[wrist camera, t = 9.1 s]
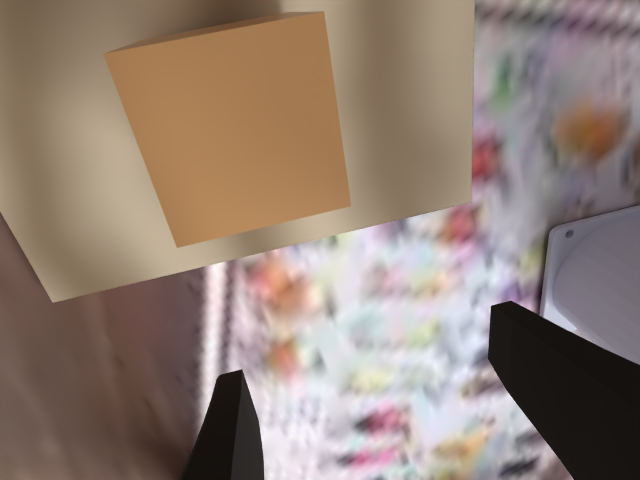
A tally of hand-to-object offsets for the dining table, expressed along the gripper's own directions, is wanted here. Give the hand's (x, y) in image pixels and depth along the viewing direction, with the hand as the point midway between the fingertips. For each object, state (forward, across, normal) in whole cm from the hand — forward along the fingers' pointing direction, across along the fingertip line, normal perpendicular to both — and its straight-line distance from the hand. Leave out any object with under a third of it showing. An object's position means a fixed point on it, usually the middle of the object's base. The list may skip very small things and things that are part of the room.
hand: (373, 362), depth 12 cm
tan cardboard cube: (+9, +2, -6) cm, 11 cm away
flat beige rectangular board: (+10, +2, -6) cm, 12 cm away
